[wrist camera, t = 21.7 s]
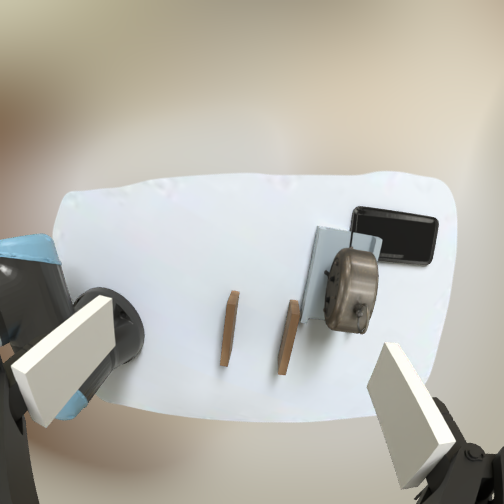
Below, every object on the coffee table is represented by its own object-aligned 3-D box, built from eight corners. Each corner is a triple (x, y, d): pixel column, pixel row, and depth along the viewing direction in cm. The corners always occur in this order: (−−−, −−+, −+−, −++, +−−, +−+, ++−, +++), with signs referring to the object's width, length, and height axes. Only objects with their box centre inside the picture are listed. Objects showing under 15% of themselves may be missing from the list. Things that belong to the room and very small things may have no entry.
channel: (224, 348, 49) (219, 365, 44) (231, 290, 46) (227, 303, 42) (284, 357, 49) (285, 375, 44) (298, 300, 46) (300, 314, 41)
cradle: (299, 315, 47) (300, 322, 44) (317, 225, 43) (320, 228, 41) (355, 321, 46) (358, 329, 44) (377, 236, 43) (382, 239, 40)
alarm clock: (346, 309, 45) (373, 369, 30) (313, 304, 45) (329, 366, 30) (362, 242, 42) (405, 278, 27) (328, 236, 43) (356, 270, 27)
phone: (354, 205, 41) (439, 218, 40) (352, 204, 42) (436, 217, 41) (347, 258, 43) (431, 266, 42) (346, 256, 44) (428, 264, 43)
